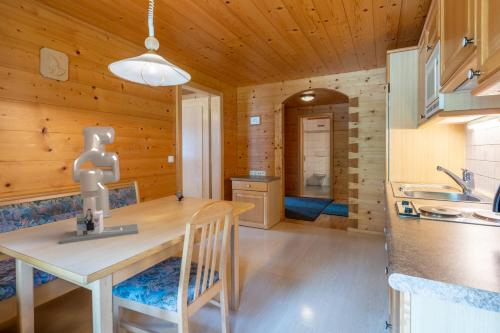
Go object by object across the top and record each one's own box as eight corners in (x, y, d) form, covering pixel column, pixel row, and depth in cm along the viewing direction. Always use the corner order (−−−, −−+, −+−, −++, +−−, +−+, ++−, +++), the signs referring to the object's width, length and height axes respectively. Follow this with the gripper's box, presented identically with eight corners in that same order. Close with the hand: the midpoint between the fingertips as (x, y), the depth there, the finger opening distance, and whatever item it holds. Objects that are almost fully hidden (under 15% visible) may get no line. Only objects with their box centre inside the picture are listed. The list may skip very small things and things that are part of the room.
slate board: (65, 235, 136) (65, 232, 136) (136, 226, 151) (136, 223, 151) (60, 244, 124) (59, 240, 124) (138, 233, 139) (138, 230, 139)
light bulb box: (76, 236, 131) (75, 214, 130) (81, 231, 137) (79, 211, 136) (101, 233, 134) (100, 212, 133) (104, 229, 140) (103, 209, 139)
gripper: (83, 192, 140) (85, 224, 142) (78, 197, 125) (80, 234, 126) (99, 191, 144) (101, 223, 145) (96, 196, 128) (98, 232, 129)
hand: (91, 228), depth 135 cm, fingers closed on light bulb box, 7 cm apart
